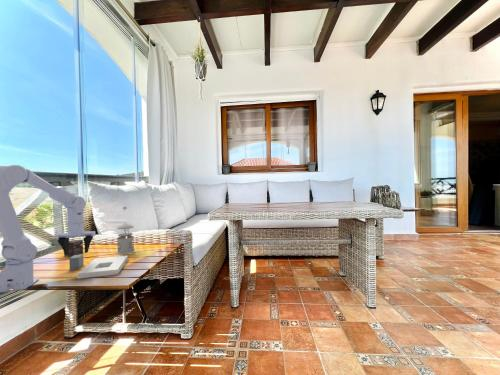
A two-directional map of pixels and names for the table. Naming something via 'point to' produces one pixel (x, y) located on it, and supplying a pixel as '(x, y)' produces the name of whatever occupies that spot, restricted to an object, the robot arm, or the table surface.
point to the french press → (125, 240)
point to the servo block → (76, 261)
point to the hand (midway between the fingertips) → (76, 253)
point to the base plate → (110, 266)
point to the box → (75, 247)
